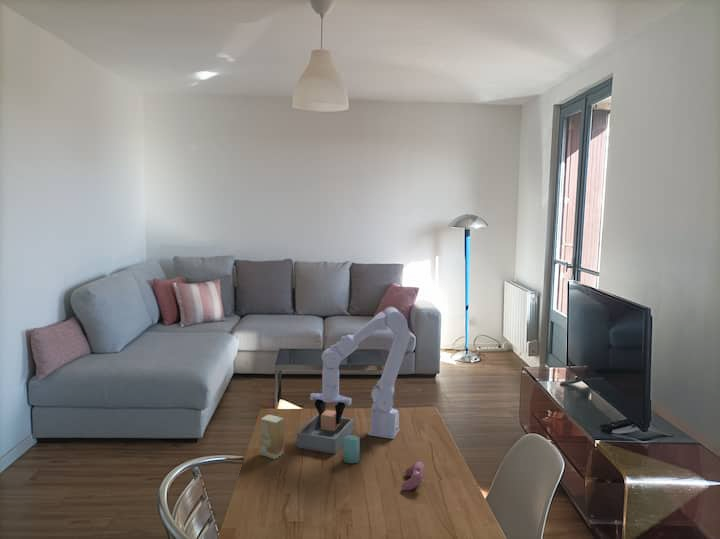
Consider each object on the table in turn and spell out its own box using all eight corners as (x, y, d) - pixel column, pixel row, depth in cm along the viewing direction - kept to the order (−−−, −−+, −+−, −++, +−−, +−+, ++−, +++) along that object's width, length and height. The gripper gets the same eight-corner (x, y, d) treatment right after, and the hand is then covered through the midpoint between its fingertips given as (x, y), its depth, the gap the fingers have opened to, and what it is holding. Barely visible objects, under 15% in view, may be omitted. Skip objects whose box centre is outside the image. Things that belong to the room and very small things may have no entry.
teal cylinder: (360, 457, 175) (360, 435, 174) (357, 463, 170) (358, 441, 169) (345, 456, 176) (345, 434, 175) (342, 462, 171) (342, 440, 170)
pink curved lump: (414, 497, 154) (426, 477, 153) (400, 489, 155) (411, 469, 154) (417, 480, 164) (428, 461, 163) (403, 472, 165) (414, 453, 163)
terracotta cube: (339, 425, 192) (339, 411, 191) (334, 431, 187) (334, 416, 187) (326, 423, 193) (325, 409, 193) (320, 429, 189) (320, 415, 188)
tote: (353, 432, 193) (353, 418, 193) (335, 454, 177) (335, 439, 176) (317, 427, 198) (317, 413, 197) (296, 447, 181) (296, 433, 181)
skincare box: (259, 455, 176) (259, 418, 174) (268, 449, 179) (267, 413, 178) (276, 459, 173) (276, 422, 171) (284, 454, 176) (284, 417, 175)
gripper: (306, 385, 187) (306, 423, 189) (346, 390, 183) (346, 429, 184) (314, 378, 194) (314, 416, 196) (353, 383, 189) (353, 421, 191)
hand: (330, 422), depth 191 cm, fingers closed on terracotta cube, 5 cm apart
